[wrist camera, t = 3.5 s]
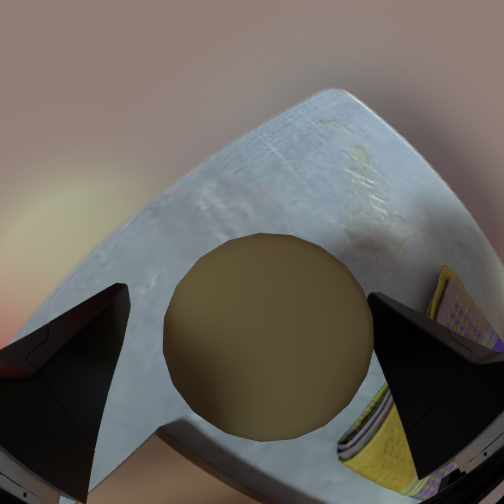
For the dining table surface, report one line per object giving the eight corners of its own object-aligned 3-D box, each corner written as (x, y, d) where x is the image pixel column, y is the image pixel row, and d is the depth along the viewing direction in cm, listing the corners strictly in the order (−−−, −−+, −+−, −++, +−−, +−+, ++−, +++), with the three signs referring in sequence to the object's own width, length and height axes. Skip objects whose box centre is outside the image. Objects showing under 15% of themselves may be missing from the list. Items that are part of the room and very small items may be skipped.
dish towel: (452, 514, 11) (467, 520, 8) (314, 446, 14) (331, 460, 11) (519, 388, 17) (535, 387, 14) (431, 262, 20) (453, 251, 17)
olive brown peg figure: (215, 275, 16) (226, 152, 6) (303, 322, 16) (434, 271, 6) (165, 363, 14) (77, 386, 4) (259, 410, 14) (343, 501, 4)
